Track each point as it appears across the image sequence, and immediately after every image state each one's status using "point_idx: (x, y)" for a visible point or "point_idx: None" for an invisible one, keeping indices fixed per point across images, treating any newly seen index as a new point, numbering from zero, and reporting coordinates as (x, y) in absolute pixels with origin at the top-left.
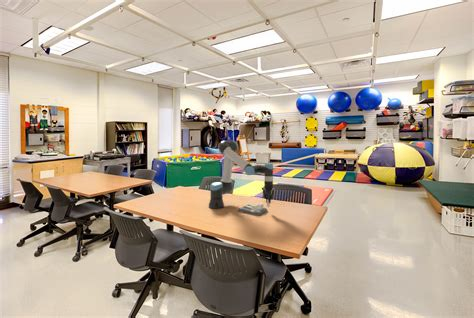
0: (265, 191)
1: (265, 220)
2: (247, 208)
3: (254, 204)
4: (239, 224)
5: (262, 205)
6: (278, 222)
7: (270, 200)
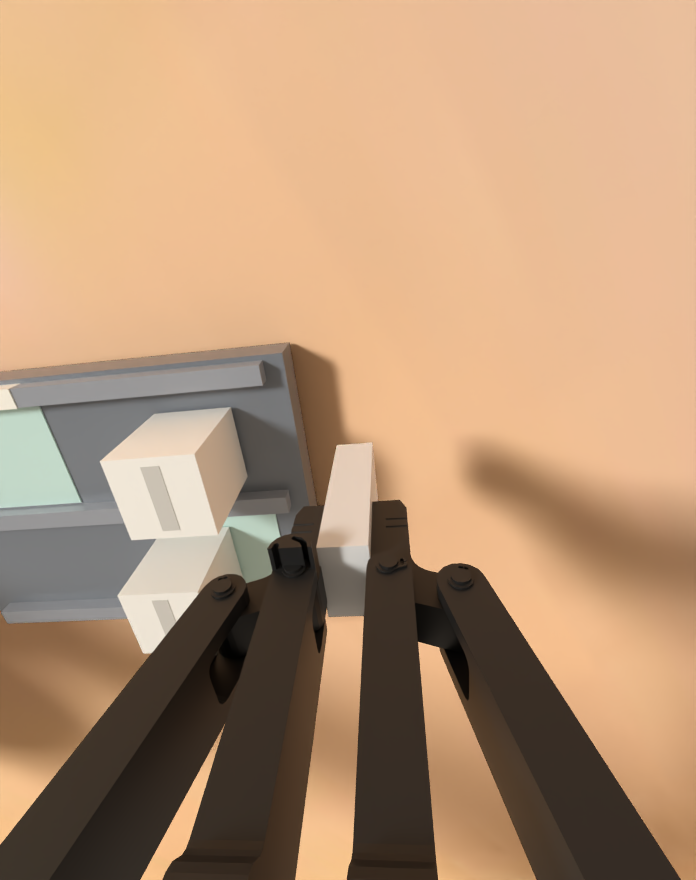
0: (82, 836)
1: None
2: (51, 532)
3: (130, 595)
4: (352, 797)
5: (214, 471)
6: (652, 606)
7: (410, 557)
